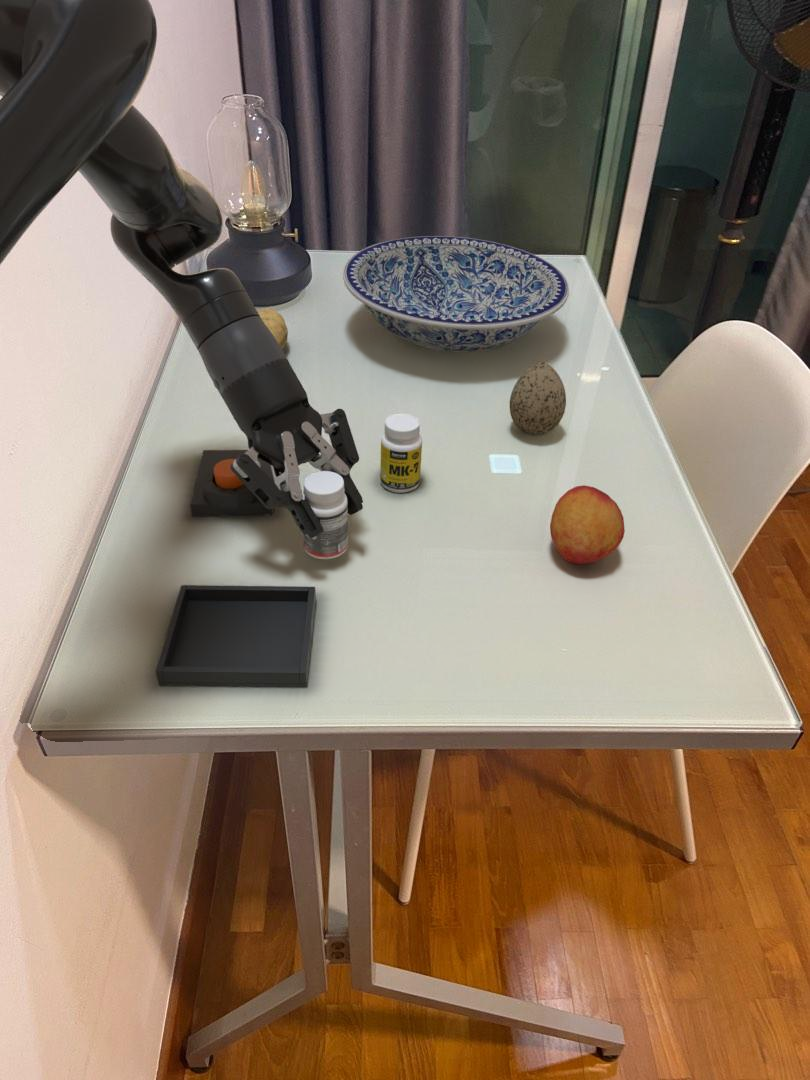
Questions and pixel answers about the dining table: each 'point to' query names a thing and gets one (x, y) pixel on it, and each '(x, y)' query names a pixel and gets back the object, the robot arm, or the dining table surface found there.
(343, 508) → the pill bottle
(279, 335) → the potato
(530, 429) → the decorative egg
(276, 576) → the dining table surface
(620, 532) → the fruit
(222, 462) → the timer button
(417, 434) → the supplement bottle
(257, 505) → the black button base
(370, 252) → the ceramic bowl
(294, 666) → the shallow black tray
